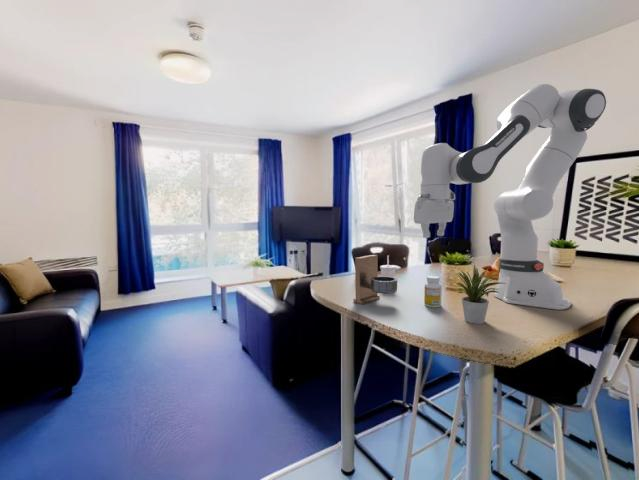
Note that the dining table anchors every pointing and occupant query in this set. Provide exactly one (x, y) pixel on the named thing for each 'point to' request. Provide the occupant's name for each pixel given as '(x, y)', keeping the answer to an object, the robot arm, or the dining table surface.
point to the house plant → (476, 296)
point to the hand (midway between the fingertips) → (433, 236)
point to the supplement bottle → (433, 292)
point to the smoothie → (388, 269)
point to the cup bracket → (371, 280)
